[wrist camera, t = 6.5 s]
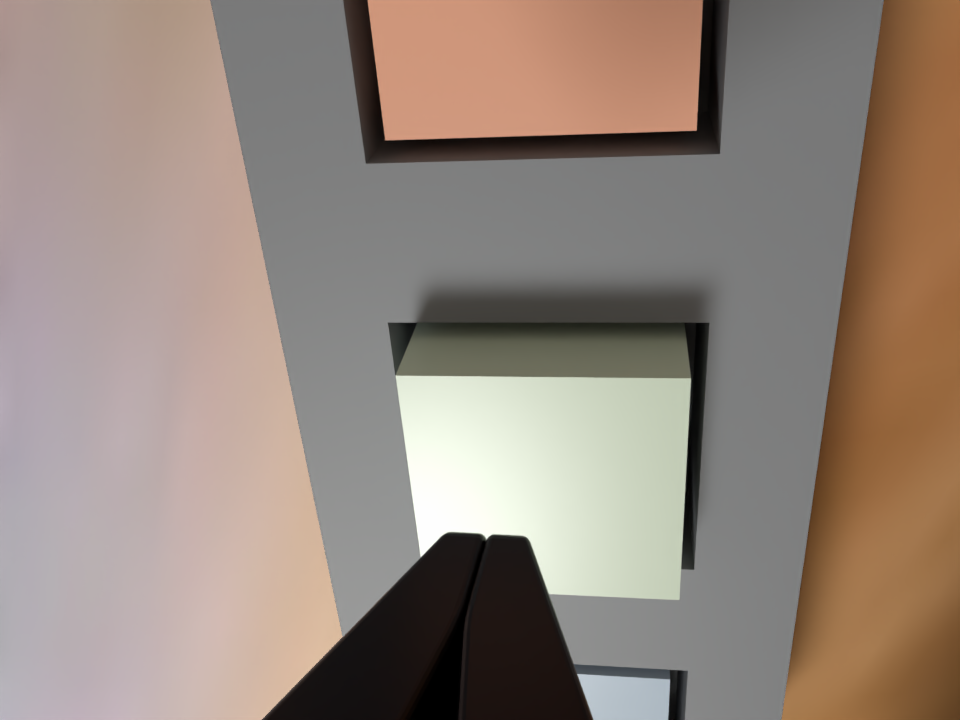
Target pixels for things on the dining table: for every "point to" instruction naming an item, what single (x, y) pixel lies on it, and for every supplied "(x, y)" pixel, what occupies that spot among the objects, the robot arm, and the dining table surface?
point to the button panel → (574, 297)
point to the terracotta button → (536, 66)
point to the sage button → (554, 446)
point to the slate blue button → (625, 692)
